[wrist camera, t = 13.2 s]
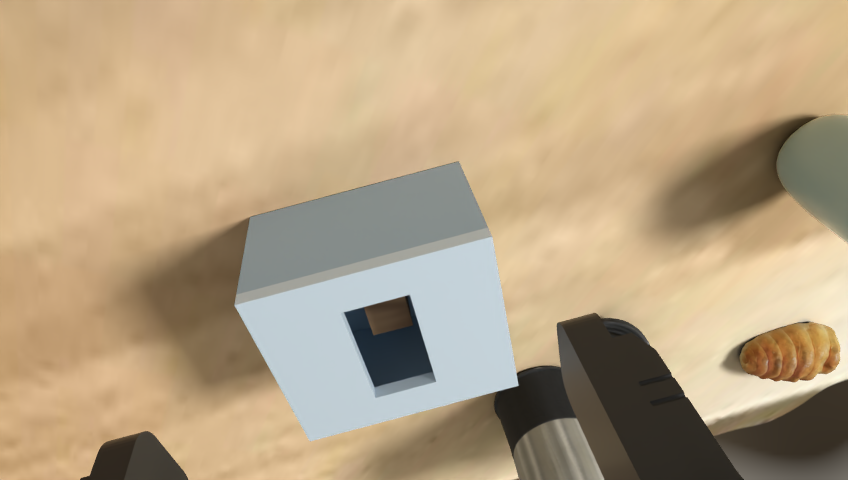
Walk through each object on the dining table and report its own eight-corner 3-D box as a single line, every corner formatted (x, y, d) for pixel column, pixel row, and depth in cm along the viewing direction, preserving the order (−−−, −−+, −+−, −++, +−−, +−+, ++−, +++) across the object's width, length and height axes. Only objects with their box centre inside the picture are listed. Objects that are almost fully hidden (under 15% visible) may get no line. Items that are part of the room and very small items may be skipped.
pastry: (728, 373, 63) (749, 400, 60) (742, 327, 59) (766, 354, 56) (808, 359, 63) (833, 385, 60) (827, 313, 60) (855, 338, 56)
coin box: (458, 161, 43) (492, 236, 35) (486, 298, 51) (518, 385, 43) (250, 217, 43) (234, 305, 35) (311, 345, 51) (310, 441, 43)
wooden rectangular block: (403, 275, 47) (386, 215, 44) (413, 325, 42) (395, 262, 39) (367, 284, 47) (347, 225, 44) (373, 335, 42) (351, 273, 39)
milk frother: (488, 429, 62) (529, 572, 49) (502, 318, 53) (556, 460, 41) (613, 414, 63) (683, 548, 51) (647, 305, 55) (741, 436, 42)
